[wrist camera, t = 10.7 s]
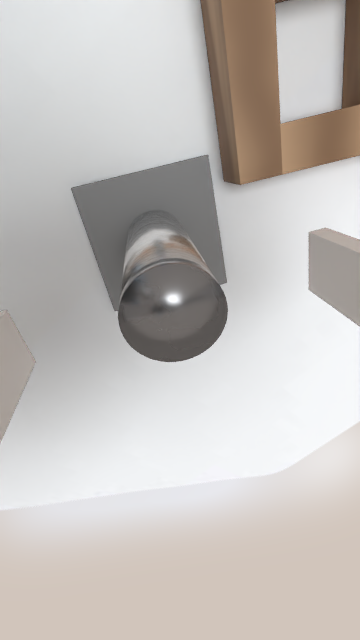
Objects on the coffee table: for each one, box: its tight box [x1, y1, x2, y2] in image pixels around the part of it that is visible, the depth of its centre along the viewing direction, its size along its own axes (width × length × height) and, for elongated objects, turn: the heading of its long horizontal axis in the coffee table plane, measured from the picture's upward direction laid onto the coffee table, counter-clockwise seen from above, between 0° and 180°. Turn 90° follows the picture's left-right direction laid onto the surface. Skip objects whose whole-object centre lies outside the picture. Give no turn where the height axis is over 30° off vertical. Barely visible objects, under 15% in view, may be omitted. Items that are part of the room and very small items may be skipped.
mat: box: [71, 155, 227, 311], centre depth 24 cm, size 10×10×1 cm
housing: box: [201, 0, 360, 185], centre depth 19 cm, size 14×12×4 cm
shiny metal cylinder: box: [118, 210, 228, 362], centre depth 18 cm, size 5×5×13 cm
